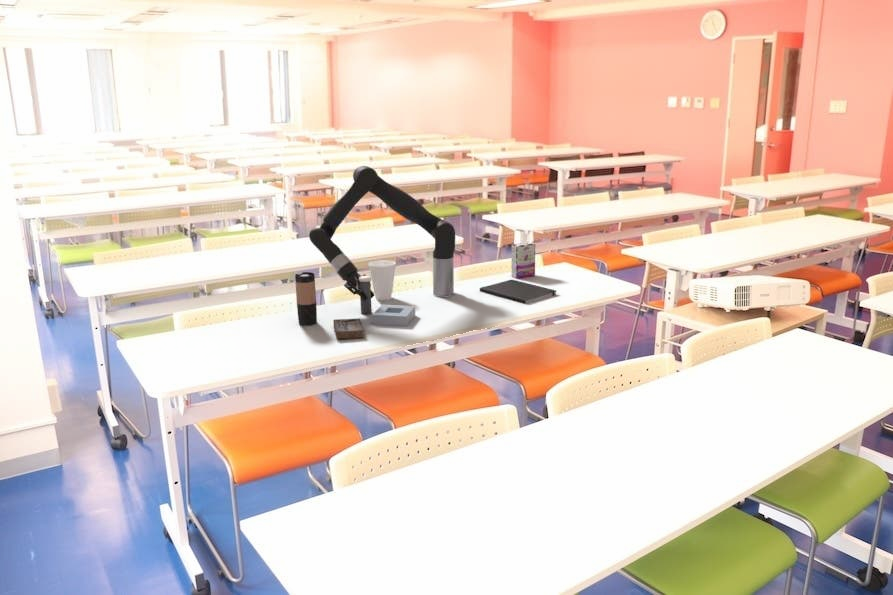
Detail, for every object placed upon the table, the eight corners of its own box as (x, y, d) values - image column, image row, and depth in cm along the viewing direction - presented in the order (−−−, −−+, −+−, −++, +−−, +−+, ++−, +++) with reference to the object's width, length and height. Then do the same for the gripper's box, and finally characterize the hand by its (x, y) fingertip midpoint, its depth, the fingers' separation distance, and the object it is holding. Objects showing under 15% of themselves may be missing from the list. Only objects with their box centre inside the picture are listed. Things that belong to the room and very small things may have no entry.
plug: (362, 310, 309) (360, 275, 305) (373, 311, 308) (372, 276, 304) (358, 314, 304) (357, 278, 300) (370, 314, 303) (368, 279, 299)
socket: (382, 313, 305) (382, 304, 304) (415, 315, 302) (415, 306, 301) (372, 324, 292) (372, 314, 290) (406, 326, 289) (406, 316, 288)
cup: (368, 302, 321) (367, 266, 316) (371, 294, 332) (369, 260, 328) (396, 301, 321) (395, 266, 316) (397, 294, 332) (396, 259, 328)
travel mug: (315, 325, 290) (312, 276, 284) (296, 325, 290) (292, 276, 285) (319, 319, 297) (316, 271, 292) (300, 319, 298) (297, 272, 292)
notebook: (479, 292, 336) (525, 305, 316) (479, 287, 336) (525, 300, 316) (511, 283, 350) (557, 295, 330) (511, 279, 350) (557, 290, 330)
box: (336, 339, 273) (335, 331, 273) (333, 326, 290) (333, 318, 289) (364, 338, 275) (364, 330, 275) (360, 325, 292) (360, 317, 291)
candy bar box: (529, 273, 366) (530, 241, 362) (535, 276, 362) (536, 243, 358) (510, 276, 361) (511, 243, 357) (516, 279, 357) (516, 245, 352)
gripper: (339, 265, 297) (365, 297, 295) (358, 257, 309) (384, 288, 308) (328, 276, 301) (355, 308, 299) (348, 268, 313) (373, 299, 311)
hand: (369, 298), depth 303 cm, fingers closed on plug, 4 cm apart
